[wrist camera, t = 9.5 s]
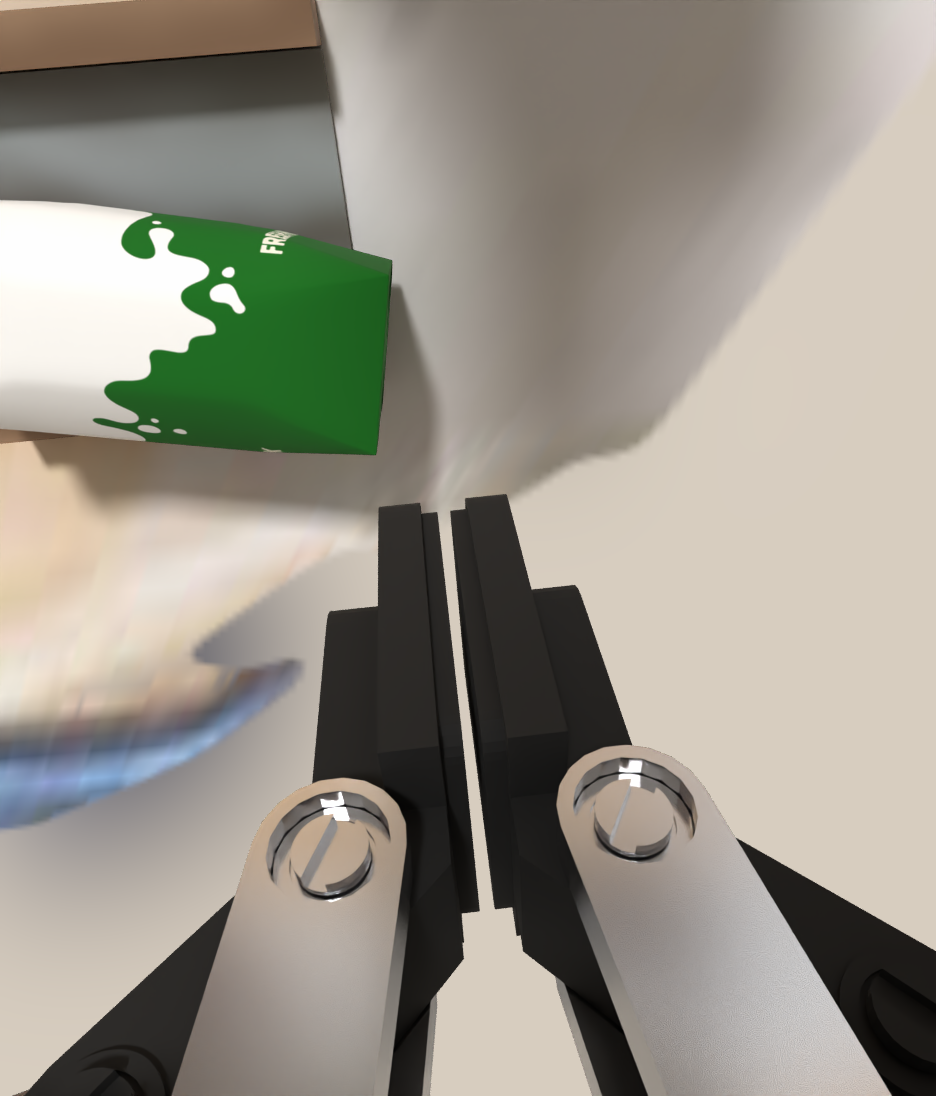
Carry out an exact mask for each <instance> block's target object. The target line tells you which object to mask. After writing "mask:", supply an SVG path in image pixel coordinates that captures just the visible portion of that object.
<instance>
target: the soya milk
mask: <svg viewBox="0 0 936 1096" xmlns="http://www.w3.org/2000/svg"><path fill="white" fill-rule="evenodd" d="M391 282H392V260H389V259H385V258H382V257H378V256H374V255H370V254H367V253H363V252H359V251H356V250H352V249H348V248H344V247H341V246H337V245H333V244H330V243H326V242H322V241H318V240H315V239H311V238H307V237H304V236H300V235H296V234H292V233H288V232H284V231H279V230H274V229H268V228H262V227H255V226H250V225H244V224H240V223H232V222H224V221H216V220H208V219H200V218H193V217H185V216H177V215H169V214H161V213H153V212H144V211H136V210H128V209H120V208H112V207H104V206H96V205H88V204H80V203H60V202H47V201H14V200H0V429H10V430H23V431H35V432H46V433H57V434H68V435H80V436H91V437H102V438H113V439H124V440H135V441H147V442H158V443H169V444H180V445H191V446H203V447H214V448H225V449H236V450H248V451H261V452H284V453H321V454H357V455H376V453H377V445H378V437H379V426H380V416H381V411H382V404H383V392H384V378H385V365H386V351H387V337H388V324H389V310H390V296H391Z"/></svg>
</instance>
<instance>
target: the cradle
mask: <svg viewBox="0 0 936 1096" xmlns="http://www.w3.org/2000/svg"><path fill="white" fill-rule="evenodd" d="M319 45H321V38H320V31H319V25H318V18H317V11H316V4H315V0H134V1H121V2H108V3H95V4H83V5H70V6H57V7H45V8H32V9H19V10H7V11H0V72H3V71H15V70H28V69H40V68H52V67H64V66H77V65H89V64H101V63H113V62H125V61H138V60H150V59H162V58H174V57H187V56H199V55H211V54H223V53H235V52H248V51H260V50H272V49H284V48H297V47H309V46H319ZM0 200H14V201H47V202H60V203H80V204H88V205H96V206H104V207H112V208H120V209H128V210H136V211H144V212H153V213H161V214H169V215H177V216H185V217H193V218H200V219H208V220H216V221H224V222H232V223H240V224H244V225H250V226H255V227H262V228H268V229H274V230H279V231H284V232H288V233H292V234H296V235H300V236H304V237H307V238H311V239H315V240H318V241H322V242H326V243H330V244H333V245H337V246H341V247H344V248H348V249H352V247H351V240H350V233H349V227H348V220H347V213H346V206H345V200H344V193H343V186H342V179H341V173H340V166H339V159H338V153H337V146H336V139H335V132H334V126H333V119H332V112H331V105H330V99H329V92H328V85H327V78H326V72H325V65H324V58H323V52H322V48H314V49H302V50H290V51H278V52H265V53H253V54H241V55H229V56H217V57H204V58H192V59H180V60H168V61H156V62H143V63H131V64H119V65H107V66H95V67H82V68H70V69H58V70H46V71H34V72H21V73H9V74H0ZM73 436H80V435H68V434H57V433H46V432H35V431H23V430H10V429H0V444H3V443H13V442H23V441H33V440H43V439H53V438H63V437H73Z"/></svg>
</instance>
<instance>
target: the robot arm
mask: <svg viewBox="0 0 936 1096" xmlns="http://www.w3.org/2000/svg"><path fill="white" fill-rule="evenodd" d="M465 508H466V509H463V510H453V511H450V513H451V525H452V536H453V546H454V559H455V569H456V581H457V592H458V602H459V614H460V626H461V637H462V648H463V659H464V669H465V678H466V686H467V694H468V702H469V710H470V718H471V726H472V733H473V741H474V749H475V757H476V765H477V773H478V781H479V789H480V797H481V805H482V813H483V820H484V829H485V837H486V844H487V853H488V860H489V868H490V876H491V884H492V892H493V900H494V907H495V909H501V908H509V907H512V908H513V914H514V921H515V928H516V935H517V936H519V935H521V940H522V947H523V952H525V953H526V954H528V955H529V956H530V957H531V958H532V959H534V960H535V961H536V962H538V963H539V964H540V965H542V966H543V967H544V968H545V969H547V970H548V971H549V972H551V973H552V974H553V975H554V976H555V977H556V983H557V989H558V992H559V995H560V999H561V1002H562V1005H563V1008H564V1011H565V1014H566V1017H567V1020H568V1023H569V1026H570V1029H571V1032H572V1035H573V1038H574V1041H575V1044H576V1047H577V1051H578V1053H579V1057H580V1060H581V1063H582V1066H583V1069H584V1072H585V1075H586V1078H587V1081H588V1084H589V1087H590V1090H591V1093H592V1096H936V951H935V950H933V949H931V948H929V947H927V946H926V945H924V944H922V943H920V942H919V941H917V940H915V939H913V938H912V937H910V936H908V935H906V934H904V933H903V932H901V931H899V930H898V929H896V928H894V927H892V926H890V925H889V924H887V923H885V922H883V921H882V920H880V919H878V918H876V917H875V916H873V915H871V914H869V913H868V912H866V911H864V910H862V909H861V908H859V907H857V906H855V905H854V904H852V903H850V902H848V901H846V900H845V899H843V898H841V897H839V896H838V895H836V894H834V893H832V892H831V891H829V890H827V889H825V888H824V887H822V886H820V885H818V884H817V883H815V882H813V881H811V880H809V879H808V878H806V877H804V876H802V875H801V874H799V873H797V872H795V871H793V870H792V869H790V868H788V867H787V866H785V865H783V864H781V863H780V862H778V861H776V860H774V859H772V858H771V857H769V856H767V855H765V854H764V853H762V852H760V851H758V850H757V849H755V848H753V847H751V846H750V845H748V844H746V843H744V842H743V841H741V840H739V839H737V838H735V836H734V835H733V833H732V831H731V830H730V828H729V826H728V825H727V823H726V822H725V820H724V818H723V816H722V815H721V813H720V811H719V810H718V808H717V806H716V805H715V803H714V801H713V800H712V798H711V796H710V795H709V793H708V792H707V790H706V788H705V787H704V786H703V785H702V784H701V782H700V781H699V780H698V779H697V777H696V776H695V775H694V774H693V772H692V771H691V770H689V769H688V768H687V767H685V766H684V765H683V764H681V763H680V762H678V761H677V760H675V759H674V758H673V757H671V756H669V755H666V754H663V753H661V752H658V751H656V750H653V749H651V748H646V747H639V746H632V743H631V740H630V737H629V735H628V731H627V729H626V725H625V723H624V720H623V717H622V714H621V711H620V708H619V705H618V702H617V699H616V696H615V693H614V690H613V687H612V685H611V682H610V679H609V676H608V673H607V670H606V667H605V664H604V661H603V658H602V655H601V652H600V650H599V647H598V644H597V641H596V638H595V635H594V632H593V629H592V626H591V623H590V620H589V617H588V614H587V612H586V609H585V606H584V603H583V600H582V597H581V594H580V593H579V590H578V588H577V587H576V586H575V585H570V586H561V587H552V588H543V589H533V590H531V586H530V582H529V578H528V575H527V571H526V567H525V563H524V559H523V555H522V551H521V547H520V544H519V540H518V536H517V532H516V528H515V525H514V520H513V517H512V513H511V509H510V505H509V501H508V498H507V495H506V494H502V495H493V496H483V497H473V498H465ZM472 840H473V839H472V829H471V819H470V809H469V799H468V789H467V779H466V769H465V760H464V749H463V740H462V730H461V721H460V713H459V704H458V694H457V685H456V676H455V667H454V658H453V649H452V640H451V631H450V623H449V613H448V605H447V595H446V586H445V578H444V568H443V559H442V551H441V541H440V532H439V523H438V514H437V512H434V513H424V514H421V506H420V503H415V504H405V505H395V506H385V507H379V521H378V606H376V607H367V608H357V609H348V610H339V611H330V612H329V614H328V618H327V625H326V636H325V647H324V658H323V670H322V681H321V692H320V704H319V715H318V725H317V737H316V747H315V759H314V770H313V781H312V784H310V785H308V786H305V787H303V788H300V789H298V790H296V791H295V792H294V793H292V794H291V795H289V796H288V797H286V798H285V799H283V800H282V801H281V802H279V803H278V804H277V805H276V806H275V807H274V809H273V810H272V811H271V812H270V813H269V814H268V815H267V817H266V818H265V819H264V820H263V821H262V823H261V825H260V827H259V829H258V831H257V833H256V835H255V837H254V839H253V841H252V844H251V847H250V850H249V853H248V856H247V859H246V863H245V866H244V869H243V872H242V875H241V878H240V882H239V885H238V888H237V891H236V894H235V896H234V897H233V898H231V899H230V900H229V901H228V902H227V903H226V904H225V905H224V906H223V907H222V908H221V909H220V910H219V911H218V912H216V913H215V914H214V915H213V916H212V917H211V918H210V919H209V920H208V921H207V922H206V923H205V924H203V925H202V926H201V927H200V928H199V929H198V930H197V931H196V932H195V933H194V934H193V935H192V936H190V937H189V938H188V939H187V940H186V941H185V942H184V943H183V944H182V945H181V946H180V947H179V948H177V949H176V950H175V951H174V952H173V953H172V954H171V955H170V956H169V957H168V958H167V959H166V960H165V961H163V963H161V964H160V965H159V966H158V967H157V968H156V969H155V970H154V971H153V972H152V973H151V974H150V975H148V976H147V977H146V978H145V979H144V980H143V981H142V982H141V983H140V984H139V985H138V986H137V987H135V989H133V990H132V991H131V992H130V993H129V994H128V995H127V996H126V997H125V998H124V999H122V1000H121V1001H120V1002H119V1003H118V1004H117V1005H116V1006H115V1007H114V1008H113V1009H112V1010H111V1011H110V1012H108V1013H107V1014H106V1015H105V1016H104V1017H103V1018H102V1019H101V1020H100V1021H99V1022H98V1023H97V1024H96V1025H94V1026H93V1027H92V1028H91V1029H90V1030H89V1031H88V1032H87V1033H86V1034H85V1035H84V1036H82V1037H81V1038H80V1039H79V1040H78V1041H77V1042H76V1043H75V1044H74V1045H73V1046H72V1047H71V1048H70V1049H69V1050H67V1051H66V1052H65V1053H64V1054H63V1055H62V1056H61V1057H60V1058H59V1059H58V1060H57V1061H55V1062H54V1063H53V1064H52V1065H51V1066H50V1067H49V1068H48V1069H47V1070H46V1072H45V1073H44V1074H43V1075H42V1076H41V1077H40V1079H38V1081H37V1082H36V1083H35V1084H34V1085H33V1086H32V1087H31V1088H30V1089H29V1090H26V1091H24V1092H21V1093H18V1094H16V1095H13V1096H430V1087H431V1075H432V1062H433V1049H434V1038H435V1025H436V1013H437V996H436V994H437V992H438V991H439V990H440V988H441V987H442V986H443V985H444V983H445V982H446V981H447V980H448V978H449V977H450V976H451V974H452V973H453V972H454V971H455V969H456V968H457V967H458V965H459V964H460V963H461V962H462V960H463V959H464V956H463V945H462V943H464V937H463V925H462V913H470V912H477V911H480V909H479V900H478V889H477V881H476V880H477V879H476V869H475V859H474V849H473V841H472Z"/></svg>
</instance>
